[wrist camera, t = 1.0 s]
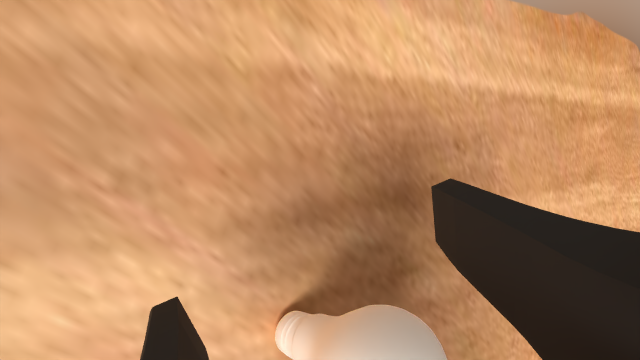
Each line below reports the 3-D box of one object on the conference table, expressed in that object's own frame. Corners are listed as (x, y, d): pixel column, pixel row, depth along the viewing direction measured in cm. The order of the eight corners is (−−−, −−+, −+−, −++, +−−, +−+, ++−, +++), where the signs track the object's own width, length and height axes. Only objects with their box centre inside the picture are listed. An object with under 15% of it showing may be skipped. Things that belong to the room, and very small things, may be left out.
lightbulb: (324, 367, 30) (476, 444, 21) (239, 393, 26) (383, 500, 17) (325, 272, 30) (478, 310, 21) (240, 284, 26) (385, 337, 18)
